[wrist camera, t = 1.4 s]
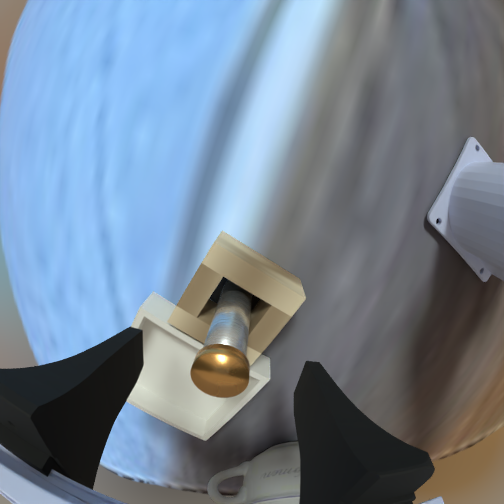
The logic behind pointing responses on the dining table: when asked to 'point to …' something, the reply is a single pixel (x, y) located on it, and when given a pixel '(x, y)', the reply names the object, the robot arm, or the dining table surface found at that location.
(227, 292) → the pin
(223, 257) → the beige square frame
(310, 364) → the robot arm
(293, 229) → the dining table surface
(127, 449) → the dining table surface
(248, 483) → the teacup
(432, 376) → the dining table surface
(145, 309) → the tray
